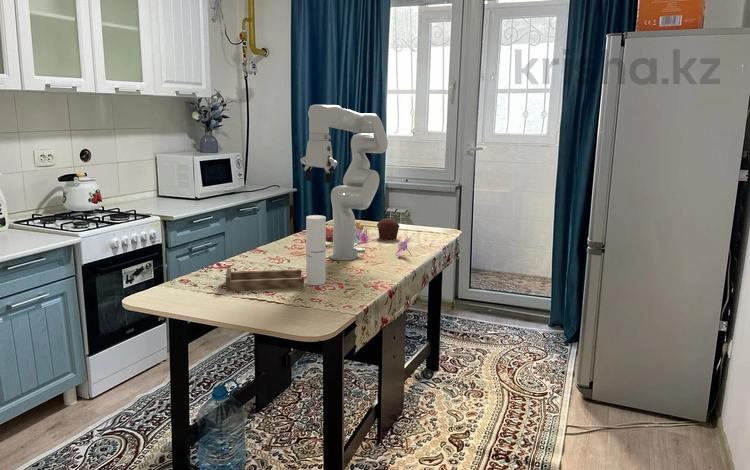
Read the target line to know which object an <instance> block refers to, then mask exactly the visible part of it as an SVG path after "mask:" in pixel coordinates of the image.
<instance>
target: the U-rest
mask: <svg viewBox="0 0 750 470" xmlns="http://www.w3.org/2000/svg"><path fill="white" fill-rule="evenodd" d="M225 288H226V289H225V291H226V292H235V291H236V292H238V291H239V292H240V291H261V290H263V291H264V290H285V289H304V288H305V277H303V276H302V269H301V268H300V269H299V268H298V269H274V270H273V269H272V270H268V269H267V270H250V271H249V270H245V271H241V270H240V271H232V267H227V268H226V275H225Z"/></svg>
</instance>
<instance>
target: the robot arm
mask: <svg viewBox="0 0 750 470" xmlns="http://www.w3.org/2000/svg"><path fill="white" fill-rule="evenodd" d="M307 117H308V140H307V143H306V150H305V151H306V152H305V156H303V157H301V158H300V163H301V166H302V168H303V170H304V171H305V176H304V177H305V182H311V181H312V179H313V177H312V176H313V172H312V168H320V169H321V168H322V169H324V170H325V174H324V175H325V176H324V178H325V180H324V183H325V184H331V183H332V181H333V180H332V179H333V178H332V177H333V173H334V171H335V170H336V167H337V166H338V161H337V160H336V159H334V158H333V150H332V143H331V141H329V140H331V135H330V134H329V133H330V130H329V128H334V129H337V130H343V131H347V132H351V133H355V134H354V135H353V136H352V137H351V139H350V148H351V156H352V160H351V162H350V164H349V167H348V168H347V170H346V172H345V174H344V176H343V179H342V184H343V185H337V186H335V187H333V188H332V189H331V193H330V201H331V206H332V228H333V246H332V252H329V255H328V258H329V259H332V260H334V261H345V262H346V261H353V260H356V259H358V257H359V254H365V253H366V249H365V248H361V247H356V246H354V245H355V223H356V217H355V214H354V212H353V210H360V211H361V210H362V211H363V210H366V209H368V208H369V207H370V205H371V204H372V201H373V199H374V197H375V195H376V193H377V191H378V188H379V185H380V175H379V173H378V171H376V170H374V169H371V163H370V160H369V159H368V156H367V155H366V154H367V153H368V154H369V153H370V154H383V153H385V152H387V150H388V146H389V142H388V140H389V139H388V137H387V134H386V131H385V128H384V125H383V122H382V120H381V118H380V117H379V115H377V114H376V113H360V112H357V111H354V110H351V109H348V108H347V109H346V108H342V107H341V106H340V105H337V104H312V105H310V106H309V108H308V111H307Z"/></svg>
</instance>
